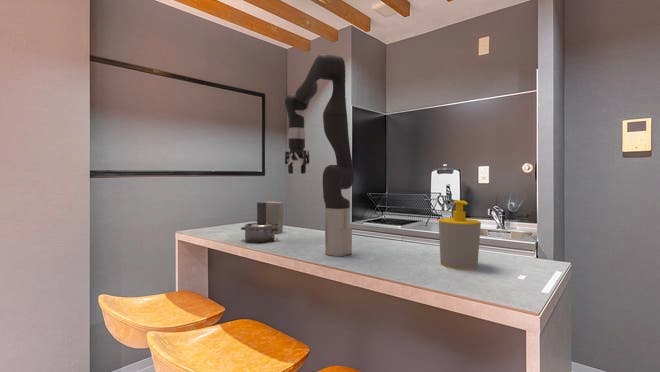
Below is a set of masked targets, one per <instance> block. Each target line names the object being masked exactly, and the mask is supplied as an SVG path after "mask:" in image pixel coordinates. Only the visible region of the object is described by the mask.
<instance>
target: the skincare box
mask: <svg viewBox="0 0 660 372" xmlns="http://www.w3.org/2000/svg"><path fill="white" fill-rule="evenodd" d="M264 203H266V223H274V224H275V228H279V231H275V235H278V234H282V233H283V231H284V230H283V228H284V227H283V226H284V206H285V205H284V204H285V203H284V202H279V201H264Z"/></svg>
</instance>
